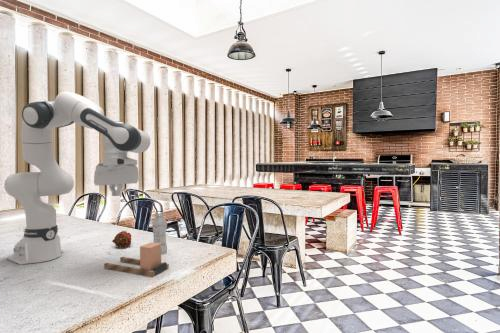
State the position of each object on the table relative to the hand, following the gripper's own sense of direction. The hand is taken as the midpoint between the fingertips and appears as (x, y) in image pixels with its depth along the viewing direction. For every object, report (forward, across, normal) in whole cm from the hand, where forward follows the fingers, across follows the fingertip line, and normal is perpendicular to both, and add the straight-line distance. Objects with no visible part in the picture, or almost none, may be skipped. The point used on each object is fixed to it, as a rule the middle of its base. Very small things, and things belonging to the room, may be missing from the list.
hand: (116, 195), depth 119 cm
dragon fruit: (+27, -23, +27) cm, 44 cm away
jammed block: (+29, +15, +1) cm, 33 cm away
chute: (+30, +8, +2) cm, 31 cm away
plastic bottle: (+29, +4, +22) cm, 36 cm away
